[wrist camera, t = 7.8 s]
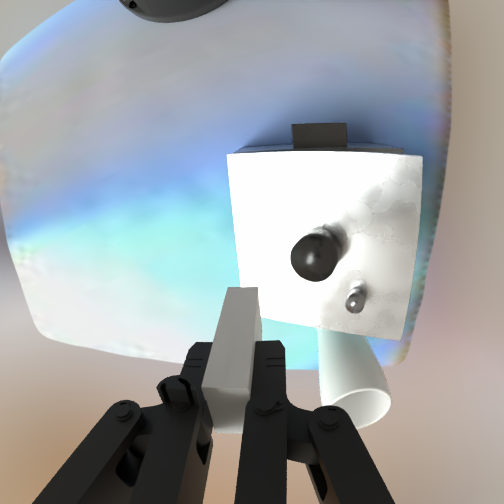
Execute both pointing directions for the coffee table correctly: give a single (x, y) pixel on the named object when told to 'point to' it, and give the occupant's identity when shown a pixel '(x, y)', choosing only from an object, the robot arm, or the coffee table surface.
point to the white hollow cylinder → (352, 377)
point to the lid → (329, 236)
